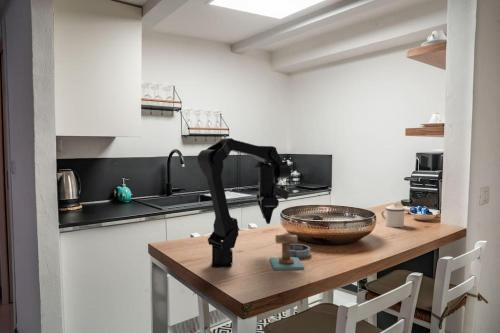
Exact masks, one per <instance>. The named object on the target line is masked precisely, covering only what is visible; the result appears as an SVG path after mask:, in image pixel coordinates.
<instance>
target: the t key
mask: <svg viewBox="0 0 500 333" xmlns="http://www.w3.org/2000/svg"><path fill="white" fill-rule="evenodd" d="M298 237H299V236H298V235H296V234H275V243H276V244H281V248H282V249H281V256H280V257H278V258H279V263H280V264H284V265H290V264H293V263H294V259H293V258H292V257H290V245H291V244H299V243H298V241H299V240H298Z"/></svg>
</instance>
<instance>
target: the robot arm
mask: <svg viewBox="0 0 500 333" xmlns="http://www.w3.org/2000/svg"><path fill="white" fill-rule="evenodd" d="M231 152H233V153H234V152H235V153H239V154H243V155H247V156H251V157H253V159H255V160H257V161H258V162H257V163H256V164H255V165H254V168H256V169H258V170H259V172H258V185H259V186H258V191H257V192H256V194H255V196H256V197H255V199H256V202H257V205H258V207H259V210H260V213H261V215H262V218H263V219H264V220H265V223H266V224H267V225H269V224H270V223H271V221H272V217H273V212H274V210H275V209H277V208H278V207H279V205H280V203H279V202H280V201H279V199H278V198H277V197H280V198H282V199H283V200H286V201H287V200H288V199H289V196H290V193H291V192H290V190H287V189H286V187H285V186H284V185H282V184H280V185H278V186H277V183H276V182H275V180H278V179H288V178H289V177H291V175H292V169H291V167H290V164H288V161H287V160H282V158H281V157H280V154H279V152H278V149H277V148H276V146H273V145H272V146H271V145H255V144H252V143H248V142H244V141H241V140H237V139H234V138H233V137H230V138H229V137H224V138H221V139H220V140H219V141H218V142H217V143H215V144H212V145H210V146H209V147H208V148H206V149H203V150H201V151H200V152H198V153H199V154H198V155H197V158H196V159H197V162H198V165H199V168H200V170H201V172H202V173H203V174H204V176H205V177H206V180H207V185H208V189H209V192H210V193H209V194H210V198H211V202H212V208H213V213H214V215H215V218H214V222H213V231H212V232H211V234H210V236H209V237H208V238H207V243H208V245H210V246H211V267H212V268H224V267H225V268H226V267H227V268H228V267H232V264H233V255H234V254H233V249H234V248H235V246H236V242H237V238H238V237H239V231H240V227H239V224H238V219H237V218H235V217H231V214H230V210H229V205H228V201H227V200H228V199H227V195H226V191H225V186H224V183H223V178H222V173H223V170H224V160H226V159H227V158H228V157H229V156H230V153H231Z"/></svg>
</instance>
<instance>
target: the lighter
mask: <svg viewBox="0 0 500 333" xmlns="http://www.w3.org/2000/svg"><path fill="white" fill-rule="evenodd" d="M310 220H323V221H324V216H323V215H321V214H314V213H313V214H312V213H311V214H310Z"/></svg>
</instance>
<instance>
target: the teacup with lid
mask: <svg viewBox="0 0 500 333" xmlns="http://www.w3.org/2000/svg"><path fill="white" fill-rule="evenodd" d="M405 210H406V209H405V207H403V206H401V205H399V204H398V203H397V202H393V203H392V204H391V205H388V206H385V209H383V210H381V212H380V215H381V218H382V219H384V221H385V223H384V224H385V226H387V227H388V226H389V228H394V227H401V228H403V227H404V226H405ZM384 213H385V215H384Z"/></svg>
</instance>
